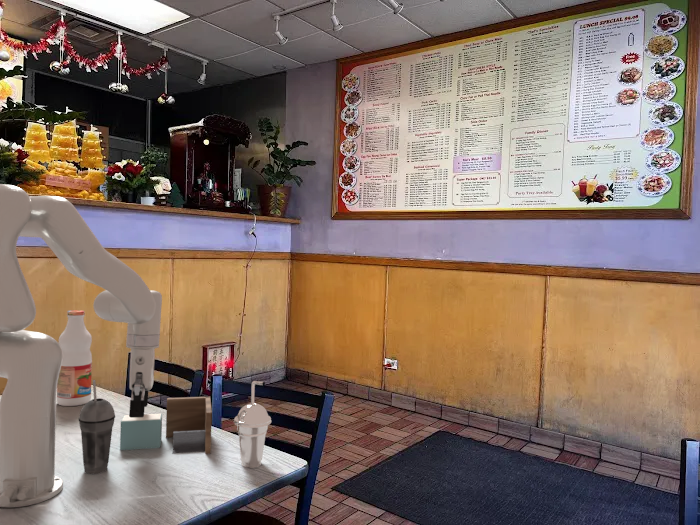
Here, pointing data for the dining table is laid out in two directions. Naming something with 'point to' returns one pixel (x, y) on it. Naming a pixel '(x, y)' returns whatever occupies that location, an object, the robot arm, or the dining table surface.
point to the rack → (189, 417)
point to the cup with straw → (252, 431)
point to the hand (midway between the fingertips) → (138, 411)
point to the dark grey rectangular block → (188, 441)
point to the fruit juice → (75, 362)
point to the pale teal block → (141, 432)
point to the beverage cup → (96, 433)
